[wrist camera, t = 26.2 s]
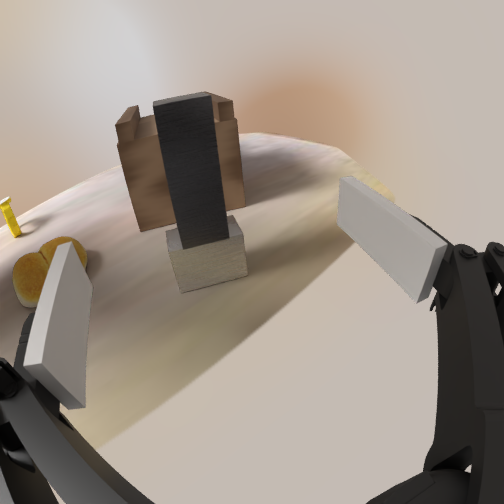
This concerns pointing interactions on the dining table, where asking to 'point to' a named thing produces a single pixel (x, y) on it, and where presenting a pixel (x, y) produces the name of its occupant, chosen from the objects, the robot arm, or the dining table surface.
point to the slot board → (152, 168)
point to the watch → (10, 217)
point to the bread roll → (39, 270)
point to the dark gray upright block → (197, 195)
